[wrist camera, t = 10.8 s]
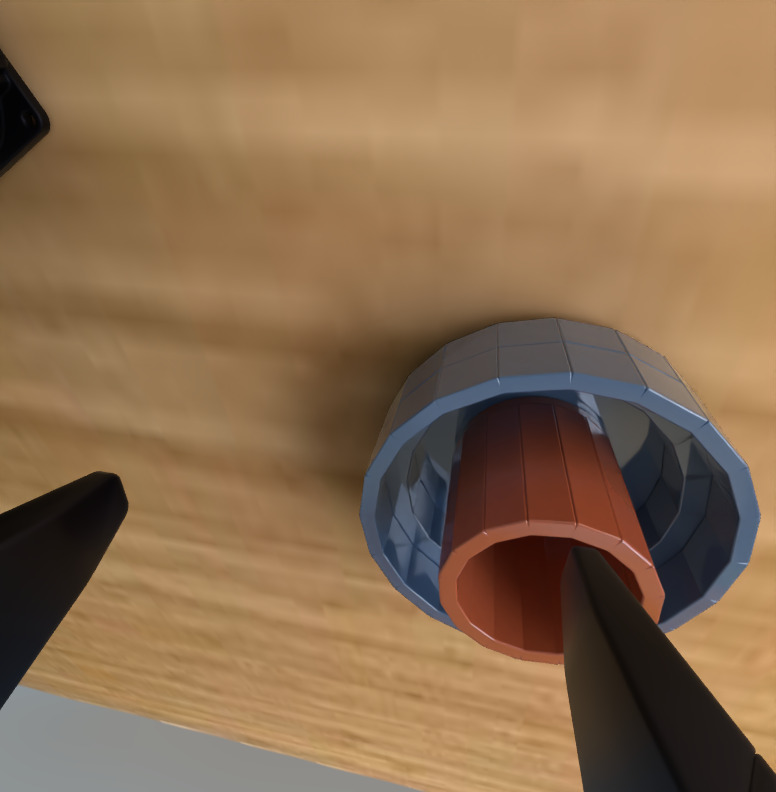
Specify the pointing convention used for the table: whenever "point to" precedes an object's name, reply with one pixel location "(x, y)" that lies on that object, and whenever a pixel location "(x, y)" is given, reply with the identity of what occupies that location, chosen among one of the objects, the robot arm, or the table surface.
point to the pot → (534, 524)
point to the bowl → (621, 419)
